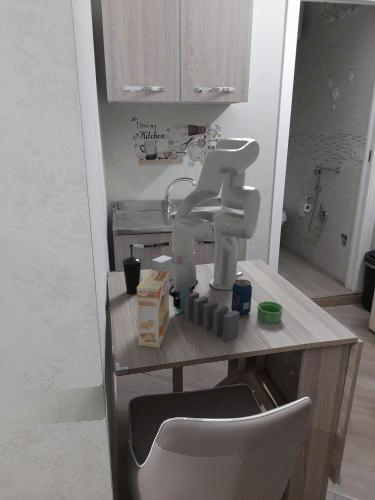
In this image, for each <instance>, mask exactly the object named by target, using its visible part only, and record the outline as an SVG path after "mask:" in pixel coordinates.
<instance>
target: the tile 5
mask: <svg viewBox="0 0 375 500" xmlns="http://www.w3.org/2000/svg"><path fill="white" fill-rule="evenodd" d="M227 313H229V306H227V305H224V304H223V305H221V306H218V308H216V309H214V310H213V329H211V330H212V334H211V335H212V336H214V337H216V338H217V337H219V336H221V335H222V336H223V324H224V315H225V314H227Z"/></svg>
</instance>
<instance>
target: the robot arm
mask: <svg viewBox="0 0 375 500" xmlns="http://www.w3.org/2000/svg"><path fill="white" fill-rule="evenodd" d="M260 148H261V147H260V144H259V143H258V141H257V140H255V139H252V138H236V137H235V138H232V137H231V138H230V137H228V138H227V137H226V138H225V137H224V138H220V139H218V140H217V141H216V143H215V148H214V149H211V150H209V151H208V152H207V154H206V156H205V159H204V161H203V165H202V169H201V171H200V175H199V178H198V181H197V185H196V187H195V188H194V189H193V190H191V192H189V194H187V195H186V196H185V197H184V199H183V200H182V201H181V202H180V204H179V205H178V208H177V210H176V213H175V216H174V220H173V225H172V228H171V230H172V231H171V247H172V248H171V251H172V252H171V253H172V254H171V256H172V262H170V266H169V296H170V297H171V298H173V299H172V300H173V302H172V303H173V307H174V308H177V309H180V299H179V296H180V291H182V290H184V289H187V288H189V290H190V293H192V292H194V291H195V289H196V287H197V286H198V284H199V281H198V279H197V268H196V262H195V256H196V252H195V243H196V242H197V243H198V242H204V241H207V240H208V239H209V238H211V236H213V235H212V234H214V257H213V258H214V260H213V261H214V263H213V278H211V279H210V281H209V285H210V287H212V288H214V289H216V290H218V291H219V290H220V291H232V289H233V285H234V283H235V281H236V280H239V278H241V277H243V276H244V273H243V272H242V271H240V272H238V273H237V271H238V270H237V269H238V268H237V267H238V253H239V245H238V241H237V239H243V240H250V239H253V237H254V236H255V234H256V231H257V227H258V226H257V225H258V221H259V213H260V208H261V200H262V199H261V193H260V191H259V189H258V188H255V187H254V186H253V187H252V186H248V185H247V186H246V185H245V180H246V170H247V169H249V167H251V166H252V165H253V164H254V163H255V162H256V161H257V159H258V158H259V155H260V151H261V150H260ZM220 191H221V194H220ZM219 195H221V196H220V204H221V206H222V207H224V208H225V209H230V210H237V211H243V214H242V213H237V212H231V211H221V212H218V213H217V214H216V215H215V216H214V218H213V222H212V223H213V224H212V223H211V222H210V221H208V220H207V219H202V218H197V217H192V216H190V215H191V213H192V211H193V209H195V208H196V207H197V206H198V205H200V204H202V203H203V202H206V201H209V200H212V199H215V198H217V197H218V196H219ZM213 232H214V233H213ZM176 292H177V294H176Z"/></svg>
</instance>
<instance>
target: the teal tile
mask: <svg viewBox="0 0 375 500" xmlns="http://www.w3.org/2000/svg"><path fill="white" fill-rule="evenodd" d="M176 294H177V292H176ZM187 294H190V290H189V288H187V289H184V290H182V291H180V296H179V299H180V309H177V308H175V307H174V308H175V312H176V313H178V314H180V313H184V311H185V295H187Z"/></svg>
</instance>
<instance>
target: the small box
mask: <svg viewBox="0 0 375 500" xmlns="http://www.w3.org/2000/svg"><path fill="white" fill-rule="evenodd" d="M170 262H172V257H171V256H168V255H164V254H162V255H161V256H158V257H156V258H154V259H151V270H155V271H167V272H169V266H170Z"/></svg>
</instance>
